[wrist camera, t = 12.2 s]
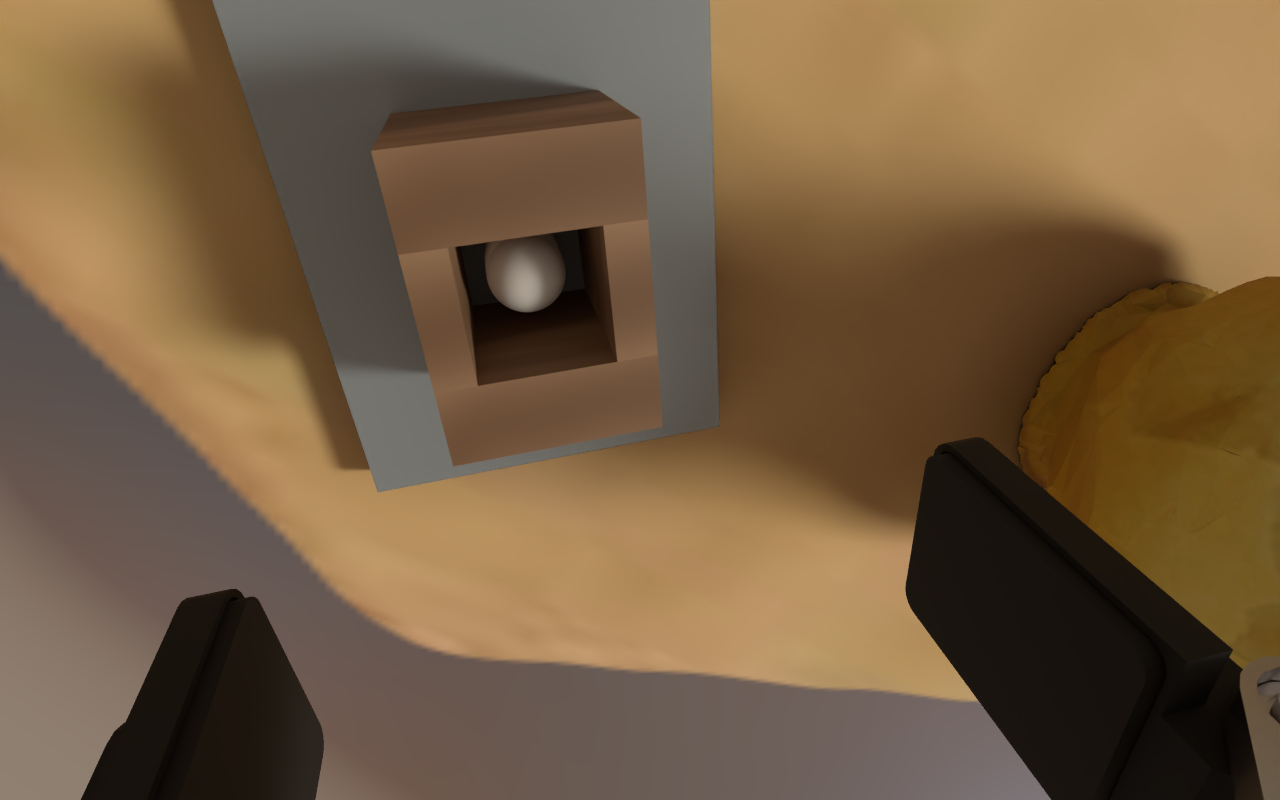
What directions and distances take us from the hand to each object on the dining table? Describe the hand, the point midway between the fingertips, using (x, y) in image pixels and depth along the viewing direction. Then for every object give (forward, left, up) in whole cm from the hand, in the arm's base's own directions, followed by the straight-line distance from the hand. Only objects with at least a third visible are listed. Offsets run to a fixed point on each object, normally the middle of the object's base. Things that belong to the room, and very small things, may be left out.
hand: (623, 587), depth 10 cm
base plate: (0, 0, -18) cm, 18 cm away
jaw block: (0, 0, -17) cm, 17 cm away
